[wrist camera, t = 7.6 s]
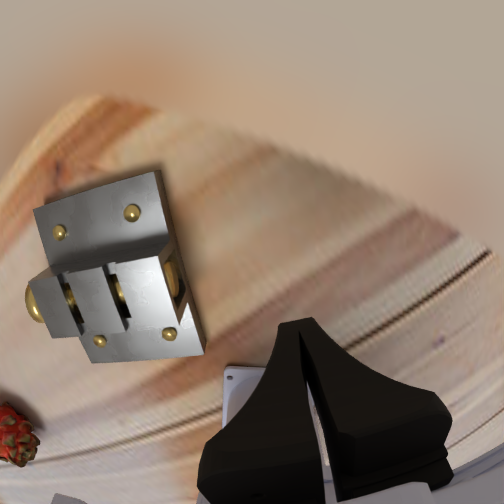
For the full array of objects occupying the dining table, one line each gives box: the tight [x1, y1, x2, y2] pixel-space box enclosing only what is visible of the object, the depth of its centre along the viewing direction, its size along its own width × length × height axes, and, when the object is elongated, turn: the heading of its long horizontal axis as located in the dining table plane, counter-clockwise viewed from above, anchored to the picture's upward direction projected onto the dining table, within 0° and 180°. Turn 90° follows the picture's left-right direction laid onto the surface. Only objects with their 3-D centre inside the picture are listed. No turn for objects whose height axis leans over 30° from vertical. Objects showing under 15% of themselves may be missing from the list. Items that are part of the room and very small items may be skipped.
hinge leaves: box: [28, 170, 206, 363], centre depth 20 cm, size 13×10×4 cm
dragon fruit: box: [0, 402, 40, 467], centre depth 25 cm, size 8×8×12 cm
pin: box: [25, 262, 179, 323], centre depth 19 cm, size 3×11×3 cm, turn 101°
